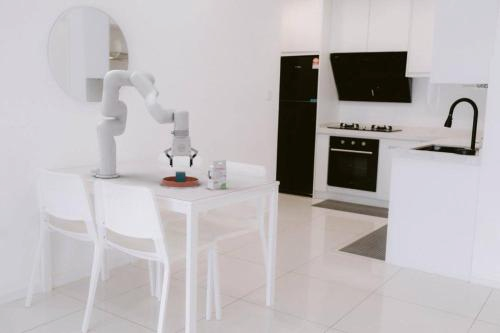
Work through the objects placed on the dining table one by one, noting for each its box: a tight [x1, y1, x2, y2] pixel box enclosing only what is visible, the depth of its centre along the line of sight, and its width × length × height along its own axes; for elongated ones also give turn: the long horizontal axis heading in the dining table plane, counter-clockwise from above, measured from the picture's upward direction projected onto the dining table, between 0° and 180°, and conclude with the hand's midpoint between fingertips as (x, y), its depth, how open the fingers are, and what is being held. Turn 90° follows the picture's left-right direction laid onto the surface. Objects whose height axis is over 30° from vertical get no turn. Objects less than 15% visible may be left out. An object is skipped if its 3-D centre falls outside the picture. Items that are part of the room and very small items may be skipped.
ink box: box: [206, 159, 227, 190], centre depth 238 cm, size 9×5×15 cm, turn 131°
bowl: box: [161, 175, 200, 188], centre depth 246 cm, size 19×19×3 cm
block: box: [175, 171, 187, 182], centre depth 245 cm, size 5×5×6 cm
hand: (181, 166), depth 244 cm, fingers open, 9 cm apart
